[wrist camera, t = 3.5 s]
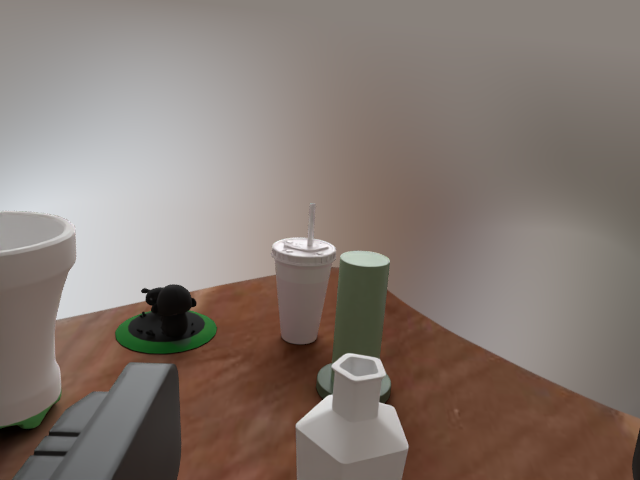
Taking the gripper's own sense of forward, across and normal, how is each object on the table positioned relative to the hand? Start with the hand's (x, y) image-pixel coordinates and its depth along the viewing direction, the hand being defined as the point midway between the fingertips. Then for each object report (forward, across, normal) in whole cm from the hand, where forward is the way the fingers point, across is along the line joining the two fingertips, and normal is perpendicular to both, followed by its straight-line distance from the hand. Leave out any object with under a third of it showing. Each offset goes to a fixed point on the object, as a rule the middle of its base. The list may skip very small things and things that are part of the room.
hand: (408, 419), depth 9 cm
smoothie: (+44, +3, +20) cm, 48 cm away
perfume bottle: (+12, 0, +21) cm, 24 cm away
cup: (+28, +24, +20) cm, 42 cm away
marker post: (+34, -2, +20) cm, 40 cm away
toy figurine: (+43, +17, +20) cm, 51 cm away
